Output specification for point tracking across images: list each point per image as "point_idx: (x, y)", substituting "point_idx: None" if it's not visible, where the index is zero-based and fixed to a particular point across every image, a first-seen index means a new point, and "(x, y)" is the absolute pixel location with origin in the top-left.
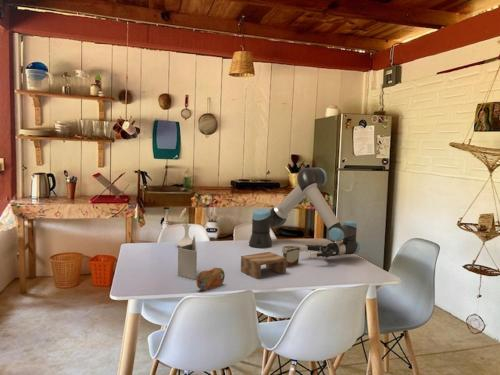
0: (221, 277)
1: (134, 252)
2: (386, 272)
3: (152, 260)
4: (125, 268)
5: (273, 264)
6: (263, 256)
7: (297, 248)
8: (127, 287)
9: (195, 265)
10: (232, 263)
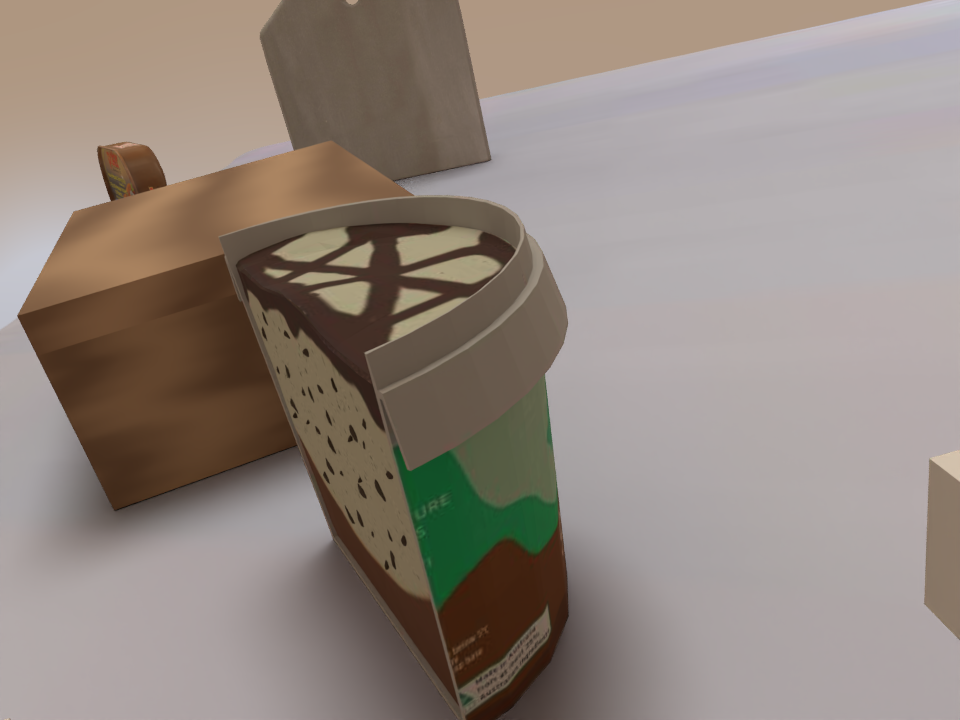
0: None
1: (832, 30)
2: None
3: (681, 78)
4: (549, 87)
5: None
6: (235, 201)
7: (362, 361)
8: None
9: (285, 119)
10: (619, 218)
